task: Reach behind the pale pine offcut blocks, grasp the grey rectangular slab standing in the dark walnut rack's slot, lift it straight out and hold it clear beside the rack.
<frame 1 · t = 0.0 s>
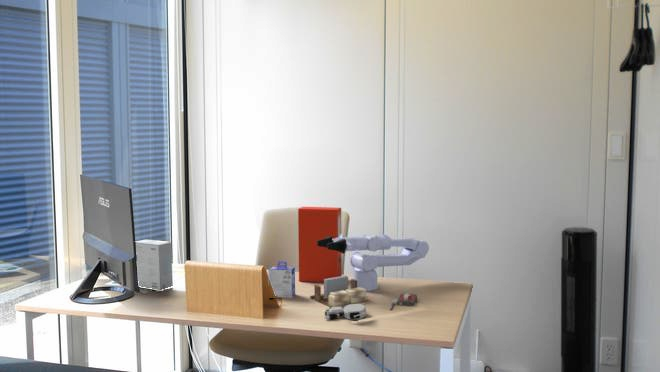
hand: (322, 244, 281), 22 cm above the table, tool horizontal, fingers open, 7 cm apart
hard drive box: (153, 288, 302), on the table
robot toy: (345, 319, 257), on the table
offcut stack: (347, 302, 274), point 1 cm above the table, touching walnut rack
grey rectangular slab: (336, 297, 281), point 1 cm above the table, touching walnut rack
walnut rack: (340, 302, 278), on the table
ink cartridge box: (282, 298, 285), on the table
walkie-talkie: (403, 307, 272), on the table
file binder: (320, 280, 313), on the table
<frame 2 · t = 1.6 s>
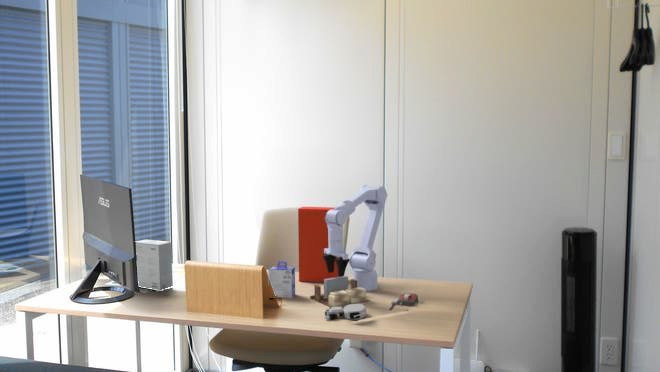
hand: (336, 274, 280), 10 cm above the table, tool pointing down, fingers open, 7 cm apart
nothing on the table moved.
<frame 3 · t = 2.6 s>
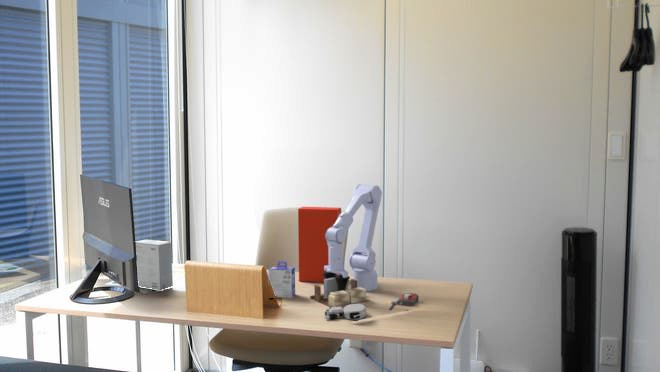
hand: (336, 291, 280), 3 cm above the table, tool pointing down, fingers open, 7 cm apart
nothing on the table moved.
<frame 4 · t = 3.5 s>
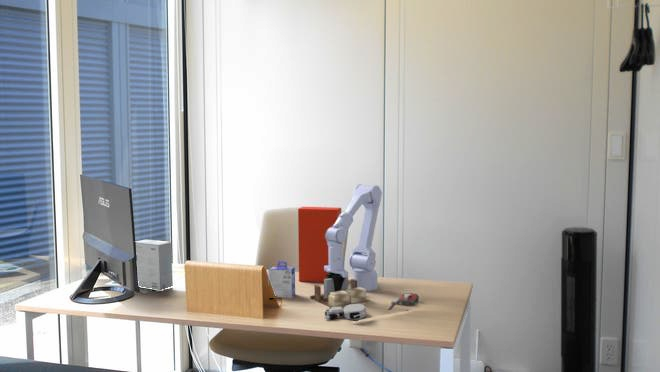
hand: (336, 291, 280), 3 cm above the table, tool pointing down, fingers closed on grey rectangular slab, 2 cm apart
grey rectangular slab: (336, 297, 281), point 1 cm above the table, touching gripper, walnut rack
everything else where it was.
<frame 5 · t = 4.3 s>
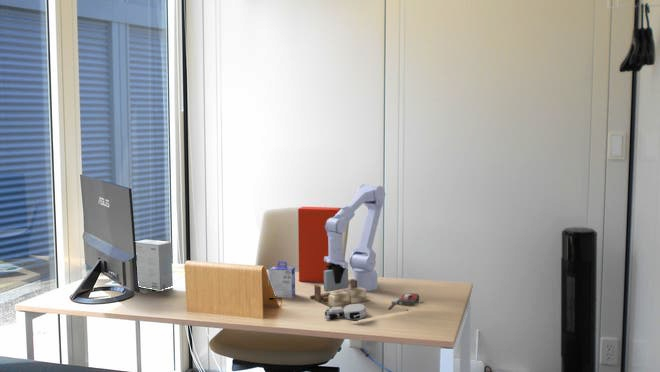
hand: (336, 282, 280), 7 cm above the table, tool pointing down, fingers closed on grey rectangular slab
grey rectangular slab: (336, 289, 280), point 4 cm above the table, touching gripper
everything else where it was.
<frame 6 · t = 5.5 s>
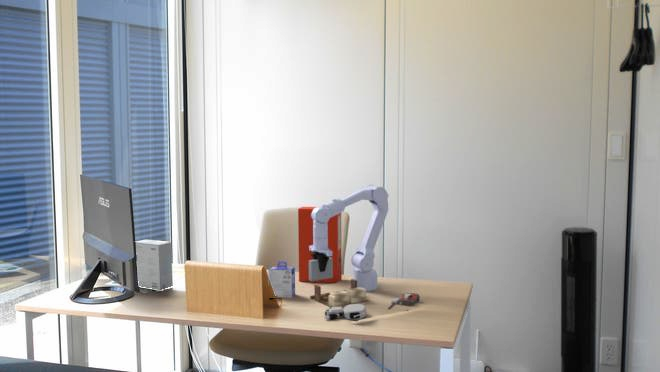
hand: (320, 270, 286), 10 cm above the table, tool pointing down, fingers closed on grey rectangular slab
grey rectangular slab: (320, 278, 286), point 7 cm above the table, touching gripper
everything else where it was.
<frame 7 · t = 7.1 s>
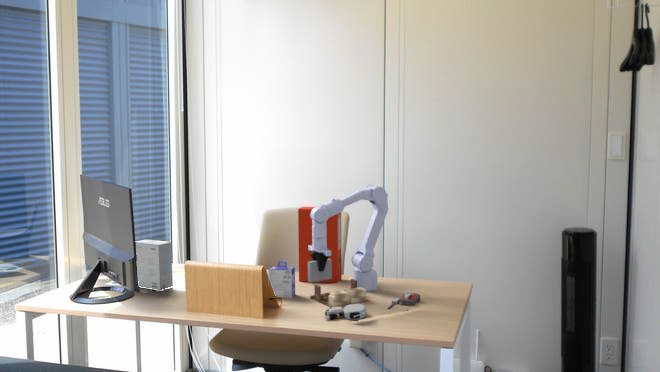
hand: (319, 270, 286), 10 cm above the table, tool pointing down, fingers closed on grey rectangular slab
grey rectangular slab: (320, 280, 287), point 7 cm above the table, touching gripper
everything else where it was.
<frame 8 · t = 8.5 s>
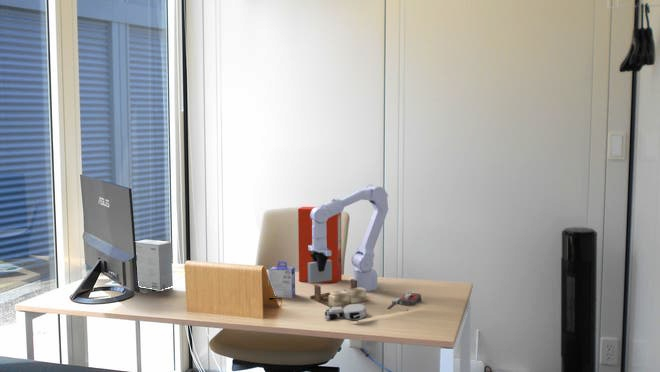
hand: (319, 270, 286), 10 cm above the table, tool pointing down, fingers closed on grey rectangular slab
grey rectangular slab: (320, 281, 287), point 6 cm above the table, touching gripper
at the end: grey rectangular slab inside the target area (0.1 cm from its centre), point 6.1 cm above the table; the gripper is holding grey rectangular slab; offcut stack moved 0.0 cm from its start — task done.
